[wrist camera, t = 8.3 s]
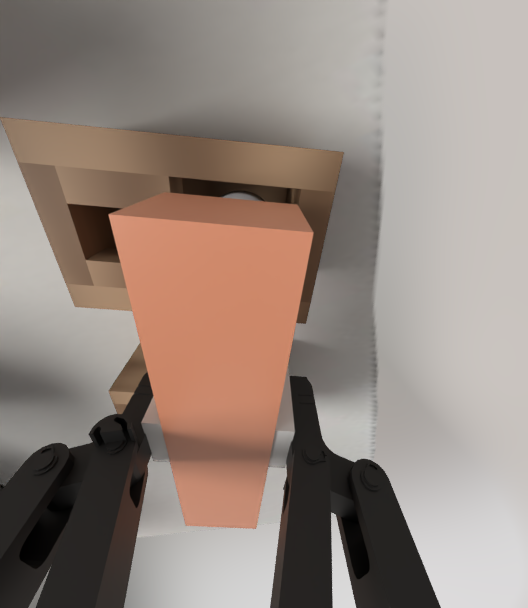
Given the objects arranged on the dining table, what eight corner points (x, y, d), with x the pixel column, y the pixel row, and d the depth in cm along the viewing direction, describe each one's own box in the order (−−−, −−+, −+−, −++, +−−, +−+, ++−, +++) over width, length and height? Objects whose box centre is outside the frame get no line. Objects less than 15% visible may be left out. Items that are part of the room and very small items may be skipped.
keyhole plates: (161, 386, 23) (132, 451, 18) (107, 131, 13) (0, 117, 7) (273, 393, 24) (275, 459, 19) (313, 152, 13) (344, 151, 8)
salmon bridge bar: (259, 413, 20) (256, 528, 14) (210, 410, 20) (185, 525, 14) (287, 187, 11) (313, 232, 5) (198, 178, 11) (108, 214, 5)
